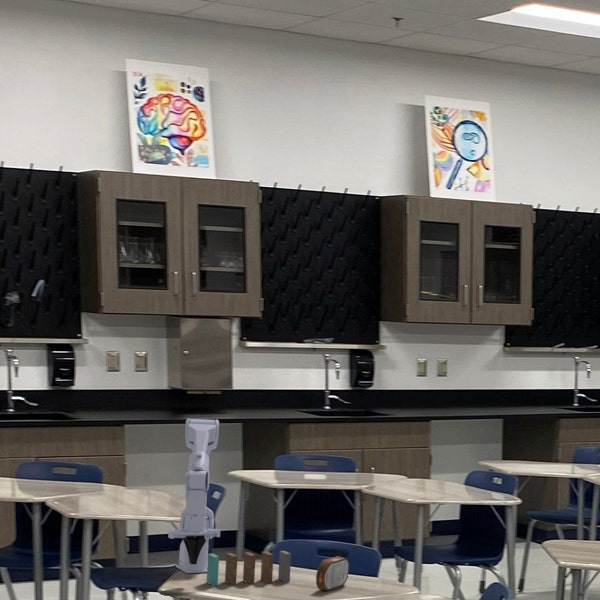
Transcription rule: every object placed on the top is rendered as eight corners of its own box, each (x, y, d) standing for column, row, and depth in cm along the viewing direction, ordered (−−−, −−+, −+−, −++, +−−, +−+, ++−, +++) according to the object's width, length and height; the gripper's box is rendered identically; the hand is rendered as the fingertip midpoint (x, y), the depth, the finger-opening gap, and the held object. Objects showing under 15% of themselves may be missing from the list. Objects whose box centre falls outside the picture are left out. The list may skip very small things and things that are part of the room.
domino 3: (266, 583, 328) (268, 554, 328) (260, 579, 332) (262, 551, 332) (272, 582, 329) (273, 554, 329) (265, 579, 333) (267, 551, 333)
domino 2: (248, 584, 326) (250, 555, 326) (242, 580, 330) (244, 552, 330) (254, 583, 326) (255, 555, 327) (248, 580, 330) (249, 552, 331)
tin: (340, 583, 333) (342, 553, 334) (350, 584, 332) (351, 555, 332) (314, 591, 320) (315, 561, 321) (324, 593, 319) (325, 562, 319)
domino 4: (284, 582, 330) (285, 554, 331) (278, 578, 334) (279, 551, 335) (289, 582, 331) (291, 553, 331) (283, 578, 335) (284, 550, 335)
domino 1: (230, 585, 323) (232, 556, 324) (224, 581, 327) (226, 553, 328) (236, 584, 324) (237, 556, 324) (230, 581, 328) (231, 552, 328)
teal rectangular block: (211, 582, 326) (213, 553, 326) (217, 585, 322) (219, 556, 322) (206, 582, 325) (208, 553, 325) (212, 586, 321) (213, 557, 321)
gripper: (175, 517, 315) (172, 567, 314) (225, 516, 321) (222, 565, 320) (166, 513, 321) (164, 562, 321) (215, 511, 327) (213, 560, 327)
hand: (192, 563), depth 321 cm, fingers closed
